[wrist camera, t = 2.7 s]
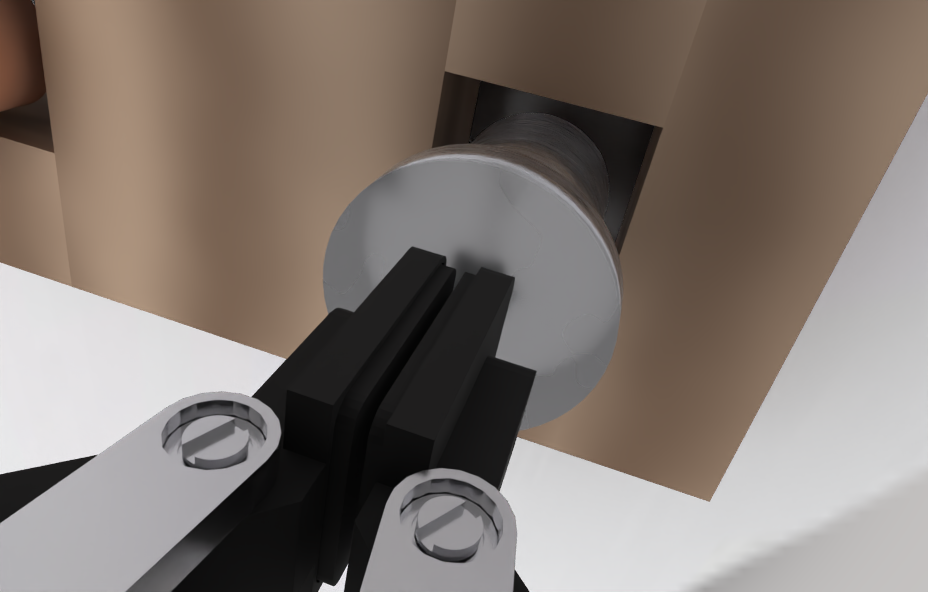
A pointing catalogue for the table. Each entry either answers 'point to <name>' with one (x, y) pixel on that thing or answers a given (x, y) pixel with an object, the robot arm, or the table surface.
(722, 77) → the button board
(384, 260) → the grey plunger
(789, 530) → the table surface
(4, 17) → the terracotta plunger
